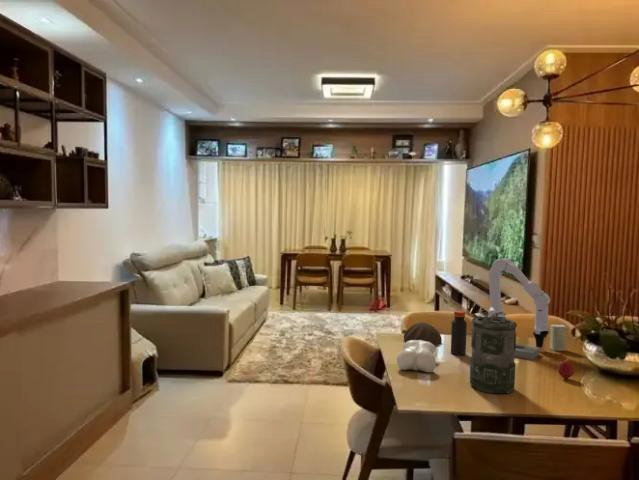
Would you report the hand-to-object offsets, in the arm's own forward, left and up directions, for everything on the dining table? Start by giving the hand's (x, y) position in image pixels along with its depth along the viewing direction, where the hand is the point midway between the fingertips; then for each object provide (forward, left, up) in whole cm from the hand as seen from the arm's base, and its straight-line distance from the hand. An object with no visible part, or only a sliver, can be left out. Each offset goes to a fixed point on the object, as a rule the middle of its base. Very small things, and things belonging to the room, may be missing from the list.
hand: (540, 346), depth 235 cm
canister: (-2, -69, -3) cm, 69 cm away
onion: (+18, -39, -3) cm, 43 cm away
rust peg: (0, 0, -2) cm, 2 cm away
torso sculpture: (-37, -60, -3) cm, 70 cm away
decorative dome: (-52, -21, -3) cm, 56 cm away
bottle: (-29, -32, -3) cm, 43 cm away
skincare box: (+6, +9, -3) cm, 11 cm away
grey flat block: (-7, -13, -2) cm, 15 cm away
